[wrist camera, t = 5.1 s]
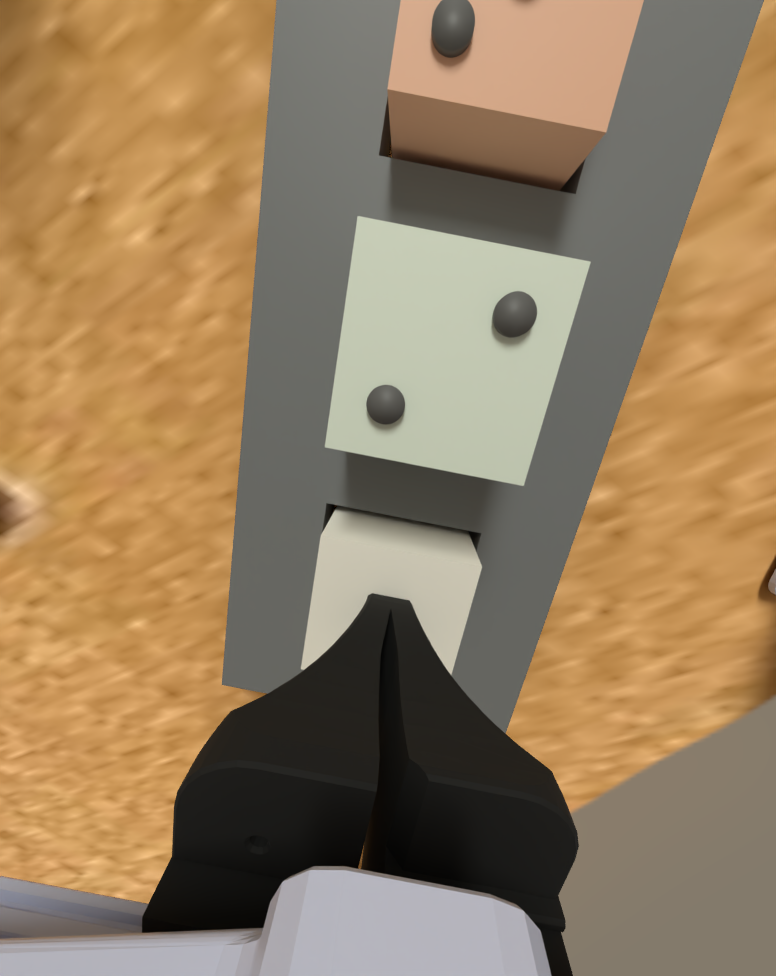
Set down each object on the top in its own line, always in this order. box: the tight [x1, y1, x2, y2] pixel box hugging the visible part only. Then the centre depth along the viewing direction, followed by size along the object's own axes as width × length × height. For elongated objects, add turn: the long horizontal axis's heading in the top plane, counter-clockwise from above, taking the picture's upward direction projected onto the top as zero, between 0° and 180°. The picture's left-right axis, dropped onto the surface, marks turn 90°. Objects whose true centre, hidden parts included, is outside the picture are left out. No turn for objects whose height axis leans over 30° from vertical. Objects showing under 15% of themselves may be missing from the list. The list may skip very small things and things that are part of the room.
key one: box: [301, 505, 482, 674], centre depth 14 cm, size 5×5×4 cm
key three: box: [387, 0, 644, 191], centre depth 10 cm, size 5×5×4 cm
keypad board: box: [222, 0, 764, 733], centre depth 13 cm, size 12×28×2 cm, turn 169°
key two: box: [325, 216, 591, 486], centre depth 11 cm, size 5×5×4 cm
